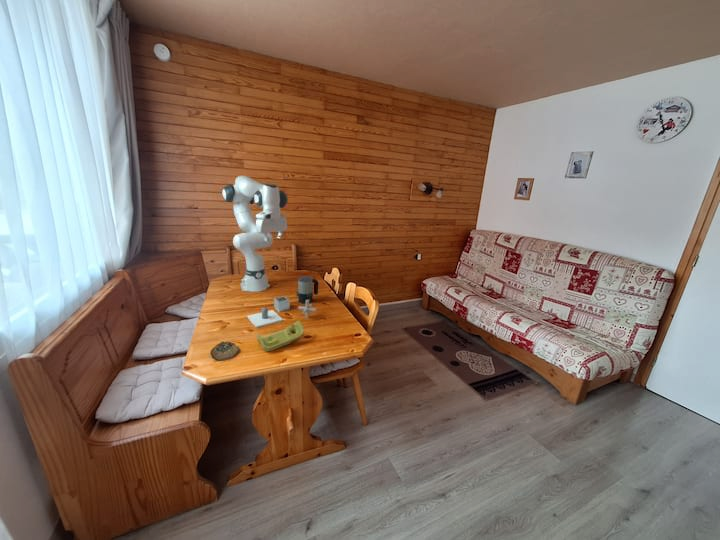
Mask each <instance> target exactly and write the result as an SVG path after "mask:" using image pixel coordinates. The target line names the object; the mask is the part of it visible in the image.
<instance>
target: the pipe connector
mask: <svg viewBox="0 0 720 540" xmlns="http://www.w3.org/2000/svg"><path fill="white" fill-rule="evenodd" d="M297 309H298V310H299V311H300V310H301V311H302V315H305V318H306V319H309V318H310V312H314V313H315V312H317V308H315V307H313V304H312V303H309V300H306V303H305V306H303V305H302V306H301V305H298V307H297Z"/></svg>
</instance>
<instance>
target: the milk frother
mask: <svg viewBox="0 0 720 540" xmlns="http://www.w3.org/2000/svg"><path fill="white" fill-rule="evenodd" d="M297 281H298V282H297V283H298V285H297V286H298V287H297V288H298V291H297V292H296V296H297V297H298V300H297V301H298V303H300V304H306V300H309V304H311V303H313V301H314V299H313V297H314V295H316V296H317V295H318V294H319V281H318V280H317V279H316V278H313V277H312V276H300V277H297Z"/></svg>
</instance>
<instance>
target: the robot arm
mask: <svg viewBox="0 0 720 540" xmlns="http://www.w3.org/2000/svg"><path fill="white" fill-rule="evenodd" d="M221 195H222V197H223V200H224V201H225V202H227V203H234V204H233V207H232V208H233V209H232V210H233V215H234V217H235V219H236V222H237V225H238V227H239V229H240V230H241V231H243V232H241V233H238V234H234V236H233V239H232V243H233V246H234V248H235V249H237V251H239V252H241V253H242V255H243V256H244V258H245V265H246V266H245V267H246V269H245V275H244V276H243V278H241V282H240V283H239V285H240V287H241V291H242V292H250V293H251V292H252V293H253V292H254V293H257V292H263V291H265V290H267V289H268V288H270V286H271V285H270V283H268V282H269V281H268V276H267V274H266V269H265V261H264V256H263V255H261V254H259V253H257V252H256V249H257V250H258V249H265V248H268V247H271V246H272V245H273V243H274V238H273V235H272V234H271V233H278V234H277V236H276V238H277V239H279V240H280V239H282V235H283V231H287V230H288V221H287V217H286V214H284V213H282V214H281V209H283V208H285V206H286V205H287V204H288V203H289V202H288V200H289V198H288V195H287V194H286V192H285V191H284V190H282V189H281V190H279V186H278V185H277V184H274V183H264V184H263V183H261V182H258V181H257V180H254V179H252V178H251V177H250V176H247V175H238V176H237V177H236V178H235V181H234V184H231V183H229V184H228V185H225V186H224V187H223V188H222V193H221ZM253 204H255V205H256V206H257V207H259V208H263V209H262V211H261V212H259V213H257V214H256V215H255V217H254V214H253V212H252V210H251V208H250V205H253Z"/></svg>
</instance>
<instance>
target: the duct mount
mask: <svg viewBox="0 0 720 540" xmlns="http://www.w3.org/2000/svg"><path fill="white" fill-rule="evenodd" d="M247 318H248V320H249V321H250V323H252V325H253V326H254V327H255V328H256V329H258V328H262V327H266V326H270V325H273V324H277V323H281V322H283V321H284V319H283V318H282V317H281V316H280V315H279V314H278V313H276V311H274V310H273V309H271V310H268V307H263V308H261V312H258V313H252V314H249V315H247Z"/></svg>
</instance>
